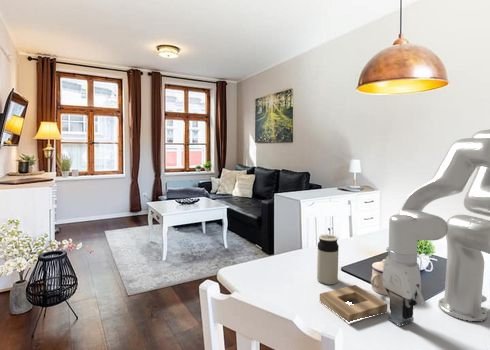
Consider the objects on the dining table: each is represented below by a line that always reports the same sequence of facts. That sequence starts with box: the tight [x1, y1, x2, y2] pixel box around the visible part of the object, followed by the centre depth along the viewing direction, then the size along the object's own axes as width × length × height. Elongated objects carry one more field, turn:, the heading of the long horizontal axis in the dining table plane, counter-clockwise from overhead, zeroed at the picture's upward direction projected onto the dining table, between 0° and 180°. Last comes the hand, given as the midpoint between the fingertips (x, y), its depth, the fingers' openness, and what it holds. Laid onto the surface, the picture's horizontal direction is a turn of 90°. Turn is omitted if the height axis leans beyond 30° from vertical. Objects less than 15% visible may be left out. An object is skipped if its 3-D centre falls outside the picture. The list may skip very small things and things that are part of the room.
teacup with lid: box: [370, 258, 388, 296], centre depth 106 cm, size 12×9×12 cm
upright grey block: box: [387, 291, 415, 326], centre depth 88 cm, size 6×4×9 cm, turn 113°
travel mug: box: [316, 233, 339, 285], centre depth 115 cm, size 8×8×18 cm
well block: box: [319, 284, 388, 322], centre depth 96 cm, size 16×14×3 cm
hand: (401, 313), depth 88 cm, fingers closed on upright grey block, 4 cm apart
